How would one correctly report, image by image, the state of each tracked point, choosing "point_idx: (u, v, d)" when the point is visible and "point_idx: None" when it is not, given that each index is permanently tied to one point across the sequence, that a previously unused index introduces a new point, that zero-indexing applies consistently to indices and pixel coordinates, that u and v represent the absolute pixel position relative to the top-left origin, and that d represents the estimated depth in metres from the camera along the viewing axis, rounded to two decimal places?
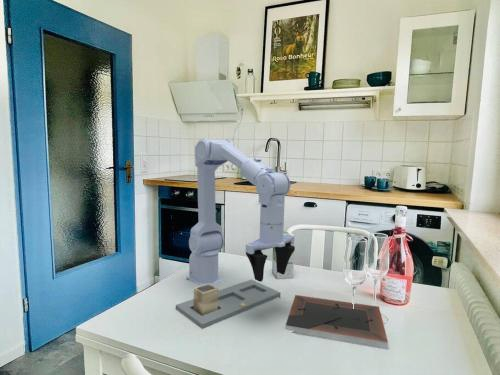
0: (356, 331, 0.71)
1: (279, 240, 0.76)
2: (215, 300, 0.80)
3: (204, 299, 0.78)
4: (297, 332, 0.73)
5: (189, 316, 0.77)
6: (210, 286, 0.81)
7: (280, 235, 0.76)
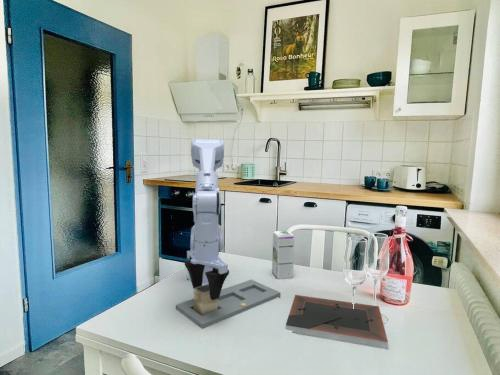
0: (356, 331, 0.72)
1: (196, 257, 0.77)
2: (215, 300, 0.80)
3: (204, 299, 0.78)
4: (297, 332, 0.73)
5: (189, 316, 0.77)
6: None
7: (196, 252, 0.77)
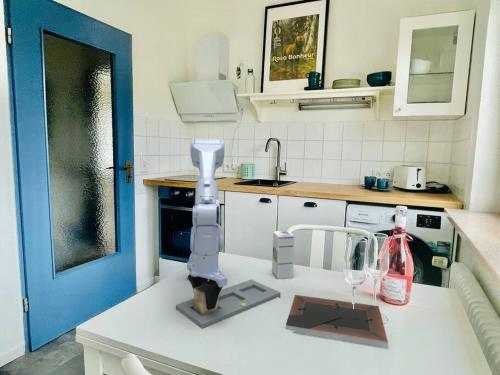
0: (356, 331, 0.72)
1: (196, 269, 0.78)
2: None
3: (204, 299, 0.78)
4: (297, 332, 0.73)
5: (189, 316, 0.77)
6: None
7: (196, 265, 0.77)
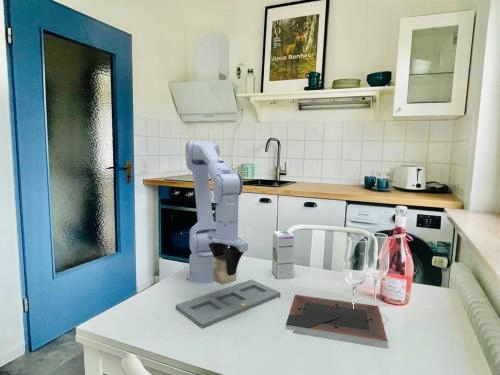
0: (356, 330, 0.72)
1: (217, 236, 0.81)
2: None
3: (224, 267, 0.81)
4: (297, 332, 0.73)
5: (189, 316, 0.77)
6: None
7: (218, 232, 0.81)
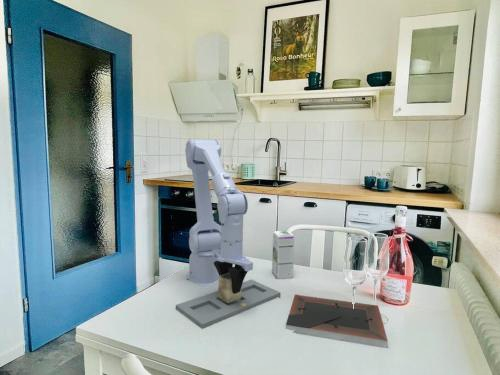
0: (356, 330, 0.72)
1: (222, 255, 0.83)
2: None
3: (229, 286, 0.82)
4: (297, 332, 0.73)
5: (189, 316, 0.77)
6: None
7: (223, 251, 0.82)
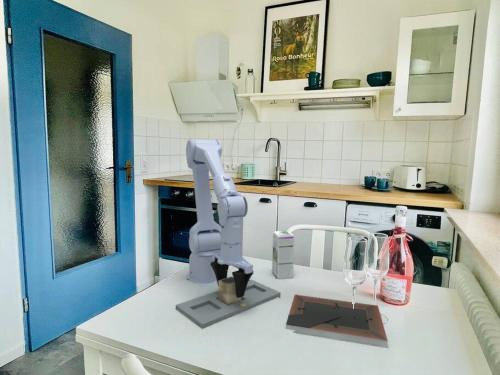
0: (356, 330, 0.72)
1: (222, 258, 0.83)
2: None
3: (229, 290, 0.83)
4: (297, 331, 0.73)
5: (189, 316, 0.77)
6: None
7: (223, 253, 0.82)
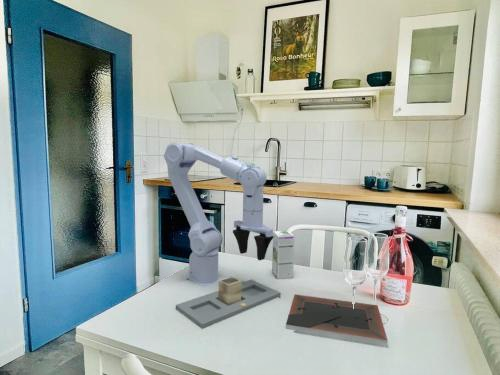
0: (356, 330, 0.72)
1: (245, 224, 0.91)
2: (239, 291, 0.85)
3: (229, 290, 0.83)
4: (297, 331, 0.73)
5: (189, 316, 0.77)
6: (234, 278, 0.86)
7: (245, 220, 0.91)
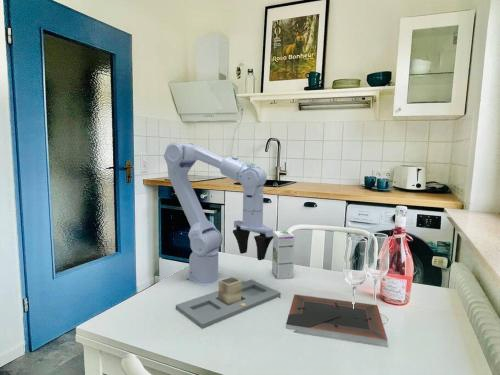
0: (356, 329, 0.72)
1: (245, 224, 0.91)
2: (239, 291, 0.85)
3: (229, 290, 0.83)
4: (297, 331, 0.73)
5: (189, 316, 0.77)
6: (234, 278, 0.86)
7: (245, 220, 0.91)
